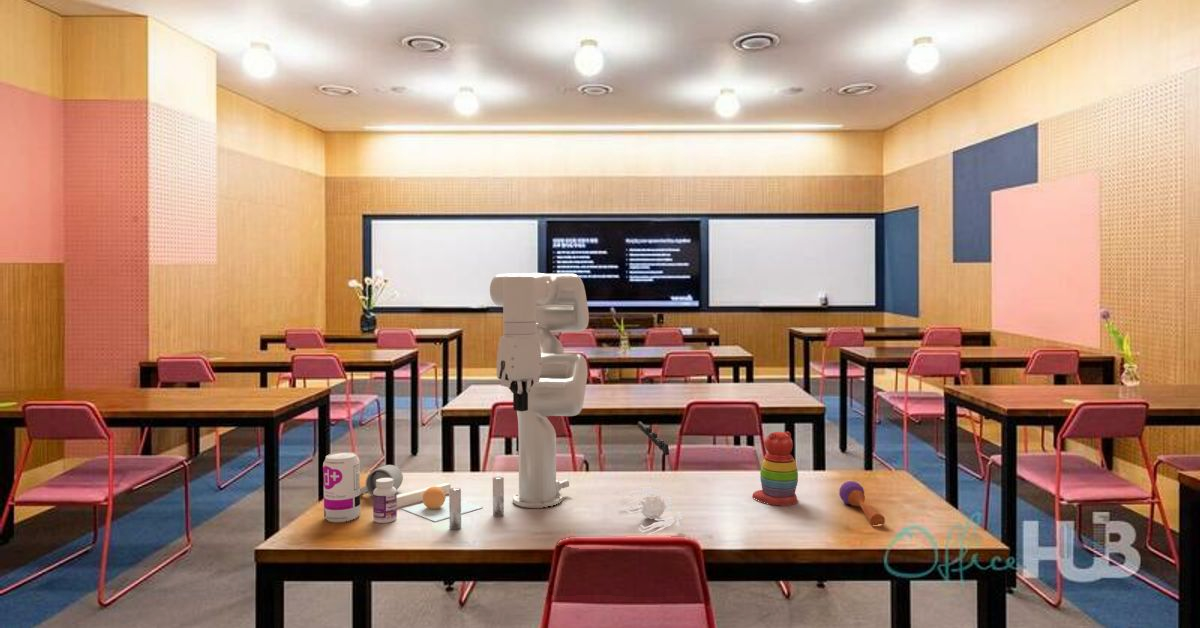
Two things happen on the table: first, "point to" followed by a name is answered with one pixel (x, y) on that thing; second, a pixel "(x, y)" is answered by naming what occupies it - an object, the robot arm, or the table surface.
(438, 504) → the ball
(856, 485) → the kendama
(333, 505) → the supplement can
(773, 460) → the stacking bear
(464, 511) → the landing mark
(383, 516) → the pill bottle
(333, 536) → the table surface
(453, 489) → the post
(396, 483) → the ceramic mug
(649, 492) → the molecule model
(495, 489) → the post
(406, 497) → the strip
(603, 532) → the table surface
